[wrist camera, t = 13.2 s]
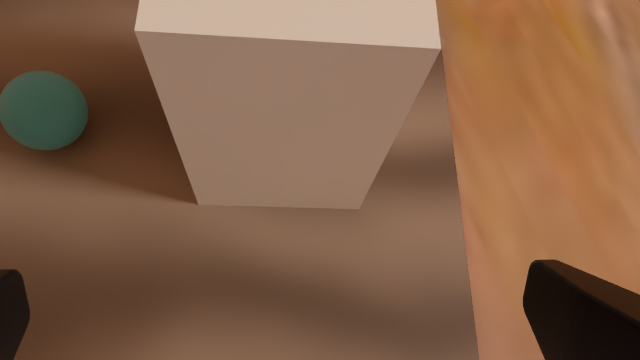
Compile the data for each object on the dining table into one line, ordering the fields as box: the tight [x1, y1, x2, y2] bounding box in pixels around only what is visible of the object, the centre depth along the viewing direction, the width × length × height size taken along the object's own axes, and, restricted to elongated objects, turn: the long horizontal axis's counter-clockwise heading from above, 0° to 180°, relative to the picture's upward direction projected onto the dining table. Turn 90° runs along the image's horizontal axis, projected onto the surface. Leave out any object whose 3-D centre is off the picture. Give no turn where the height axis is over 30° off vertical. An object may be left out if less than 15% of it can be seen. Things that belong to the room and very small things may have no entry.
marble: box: [0, 71, 88, 150], centre depth 19 cm, size 3×3×3 cm
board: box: [0, 0, 479, 360], centre depth 21 cm, size 18×24×1 cm
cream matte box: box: [134, 0, 441, 209], centre depth 17 cm, size 6×6×10 cm
